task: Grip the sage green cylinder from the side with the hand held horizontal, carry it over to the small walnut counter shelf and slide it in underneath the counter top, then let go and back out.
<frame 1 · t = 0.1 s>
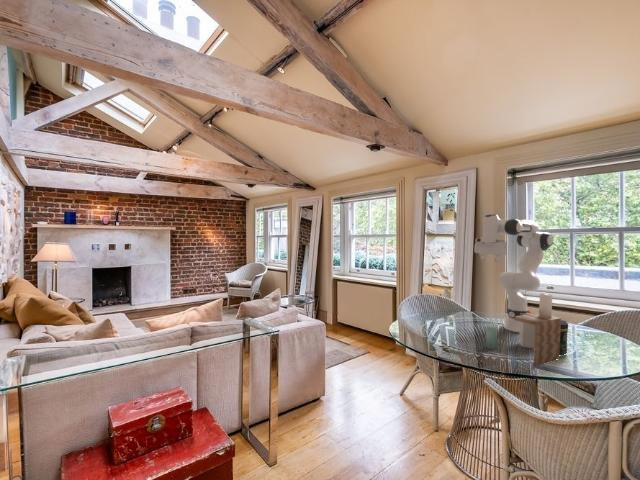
hand: (489, 261, 202), 48 cm above the table, tool pointing down, fingers open, 8 cm apart
coffee jar: (557, 354, 175), on the table
milk carton: (527, 346, 186), on the table
sage green cylinder: (491, 347, 182), on the table
walnut counter: (535, 358, 168), on the table
white glossy cylinder: (545, 316, 168), point 22 cm above the table, touching walnut counter
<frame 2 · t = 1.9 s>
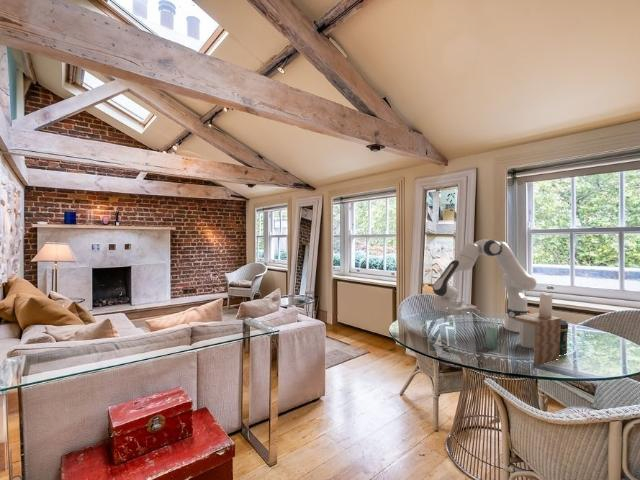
hand: (473, 312, 192), 17 cm above the table, tool horizontal, fingers open, 8 cm apart
nothing on the table moved.
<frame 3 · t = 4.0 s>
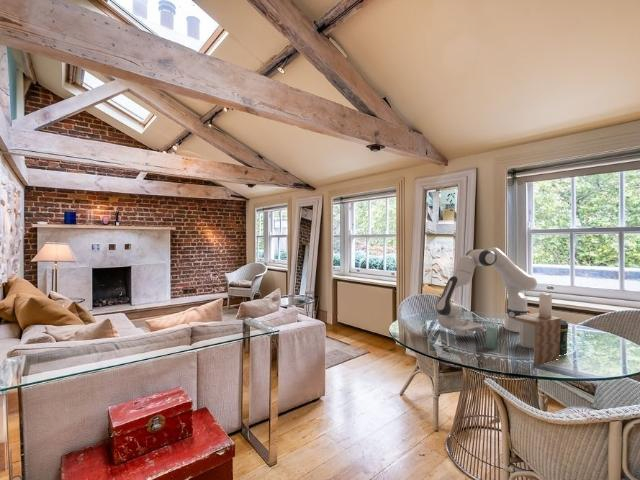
hand: (480, 332, 189), 7 cm above the table, tool horizontal, fingers open, 8 cm apart
nothing on the table moved.
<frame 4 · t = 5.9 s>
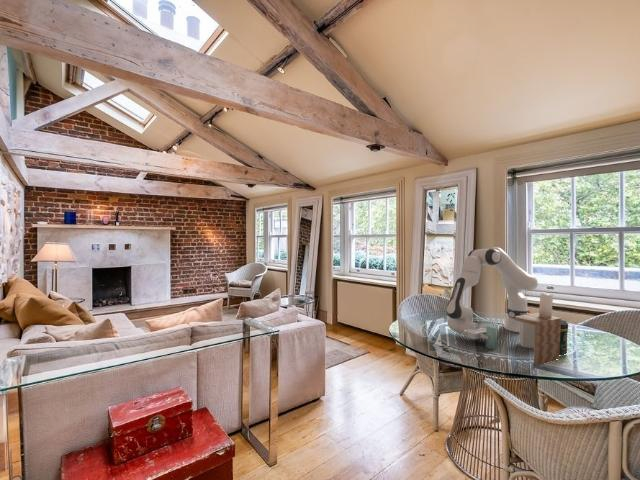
hand: (492, 336, 181), 7 cm above the table, tool horizontal, fingers closed on sage green cylinder, 5 cm apart
sage green cylinder: (491, 347, 182), on the table, touching gripper
everything else where it was.
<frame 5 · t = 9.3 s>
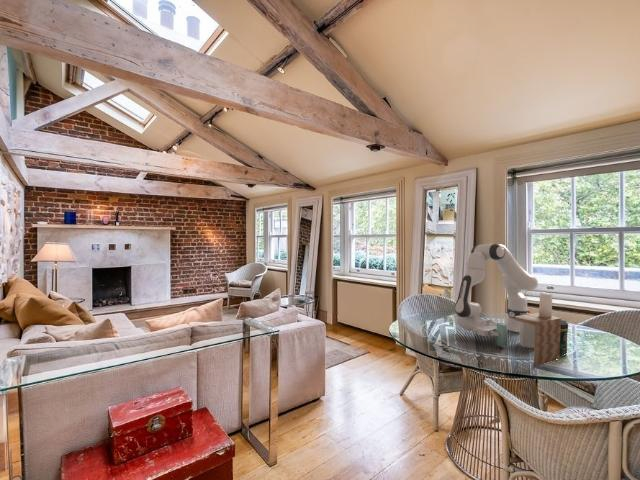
hand: (503, 333, 182), 8 cm above the table, tool horizontal, fingers closed on sage green cylinder, 5 cm apart
sage green cylinder: (501, 344, 183), point 2 cm above the table, touching gripper
everything else where it was.
when the fingers open (8 cm above the table, at t = 12.6 s): sage green cylinder drops 2 cm, on the table.
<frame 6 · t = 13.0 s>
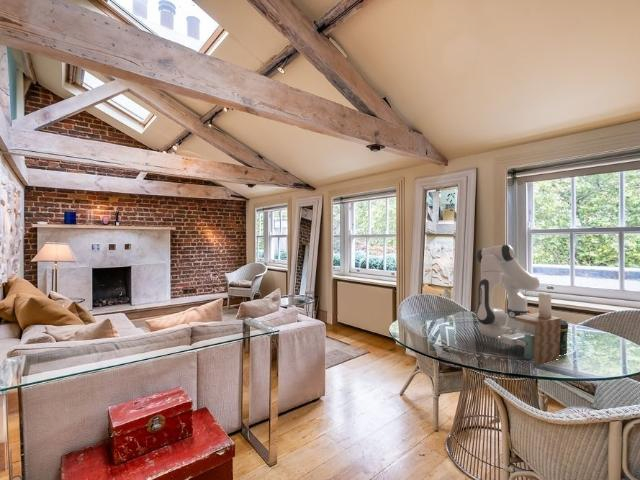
hand: (532, 342, 168), 8 cm above the table, tool horizontal, fingers open, 8 cm apart
sage green cylinder: (529, 357, 169), on the table
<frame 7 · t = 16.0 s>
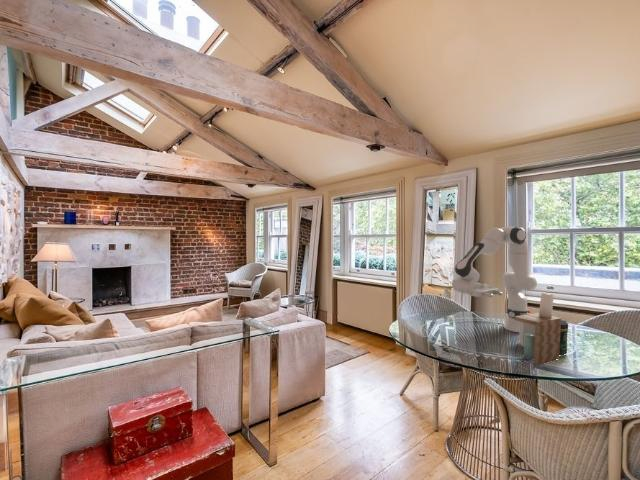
hand: (497, 295, 186), 30 cm above the table, tool horizontal, fingers open, 8 cm apart
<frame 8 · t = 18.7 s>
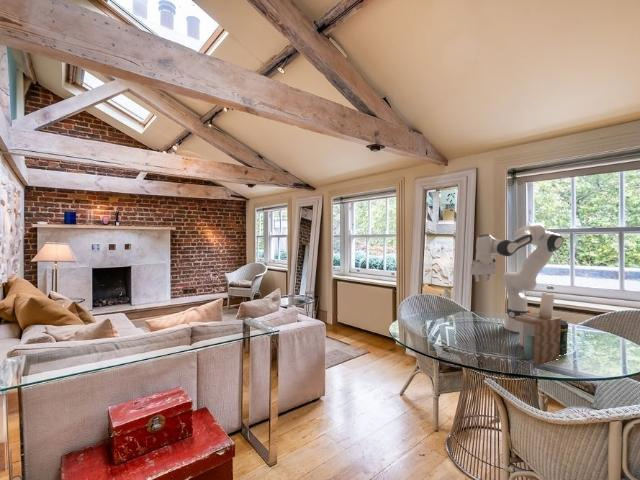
hand: (482, 281, 202), 35 cm above the table, tool pointing down, fingers open, 8 cm apart
at the end: sage green cylinder inside the target area (2.7 cm from its centre), on the table; sage green cylinder tilted 0°; the gripper is holding nothing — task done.
